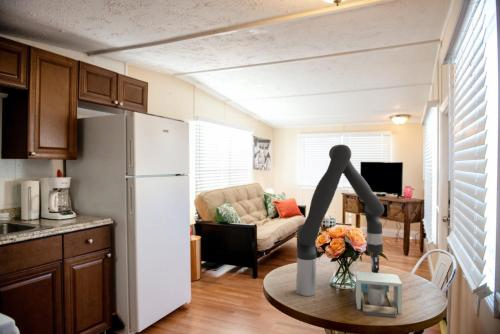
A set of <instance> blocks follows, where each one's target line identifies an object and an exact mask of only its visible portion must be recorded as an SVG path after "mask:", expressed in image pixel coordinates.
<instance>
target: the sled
mask: <svg viewBox="0 0 500 334" xmlns="http://www.w3.org/2000/svg"><path fill="white" fill-rule="evenodd" d="M367 285H368V284H366V283H361V309H362V312H364V313H365V311H367V312H376V313H385V314H395V315H396V316H397V314H398V312H397V308H396V307H395V305H394V302H393V299H392V298H393V297H391V293H390V286H388V285H383V286H384V287H385V288H386V292H385V296H386V298H387V301H388V304H389V306H384V305H382V306H374V305H371V304H366V303H365V296H364V294H368V293H367Z"/></svg>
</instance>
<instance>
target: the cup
mask: <svg viewBox="0 0 500 334" xmlns="http://www.w3.org/2000/svg"><path fill="white" fill-rule="evenodd" d="M385 292H386V288H385V287H384V286H383V285H377V284H368V285H367V293H366V294H367V300H368V304H369V305H374V306H384V304H385V298H386V295H385Z"/></svg>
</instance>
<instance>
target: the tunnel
mask: <svg viewBox="0 0 500 334" xmlns="http://www.w3.org/2000/svg"><path fill="white" fill-rule="evenodd" d="M361 283H366V284H377V285H388V286H389V287H390V286H391V287H393V297H392V298H393V299H392V301H393V303H394V306H395V308H397V314H400V315H402V313H403V283H402V281H401V279H400V277H399V276H398V274H396V273H395V274H393V273H380V272H378V273H373V272H368V271H366V272H365V271H358V270H357V271H355V303H356V309H357V310H361V309H362V302H361Z"/></svg>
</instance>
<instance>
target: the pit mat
mask: <svg viewBox="0 0 500 334" xmlns="http://www.w3.org/2000/svg"><path fill="white" fill-rule="evenodd" d="M364 315H365V316H371V317H372V316H373V317H383V318H390V319H391V318H392V319H397V315H395V314H385V313H376V312H367V311H365V312H364Z"/></svg>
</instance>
